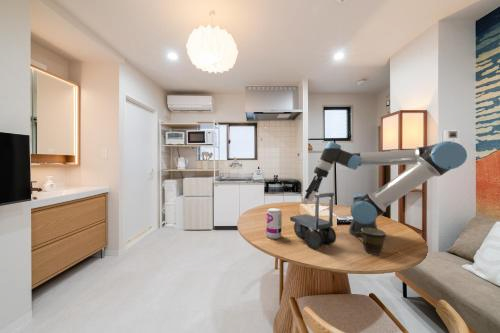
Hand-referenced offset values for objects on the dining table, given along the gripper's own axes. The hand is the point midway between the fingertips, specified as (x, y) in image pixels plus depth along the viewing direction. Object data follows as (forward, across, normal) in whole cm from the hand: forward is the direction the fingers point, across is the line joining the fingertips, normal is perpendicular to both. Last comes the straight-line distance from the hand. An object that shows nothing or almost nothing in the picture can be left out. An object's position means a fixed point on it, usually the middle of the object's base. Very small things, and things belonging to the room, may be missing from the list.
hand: (307, 202), depth 124 cm
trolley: (+15, +11, +12) cm, 22 cm away
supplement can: (+23, +14, -6) cm, 28 cm away
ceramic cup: (+5, +10, +37) cm, 38 cm away
